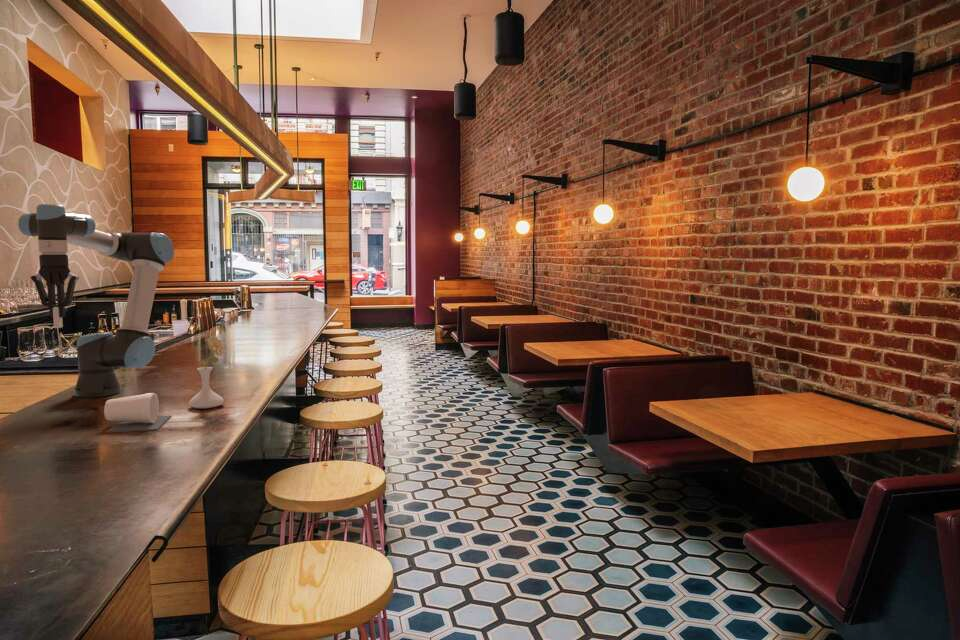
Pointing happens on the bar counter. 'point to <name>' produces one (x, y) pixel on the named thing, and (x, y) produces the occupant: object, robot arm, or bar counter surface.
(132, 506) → the bar counter surface
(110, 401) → the foam cup
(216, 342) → the flower in vase
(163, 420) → the mat
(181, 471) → the bar counter surface
